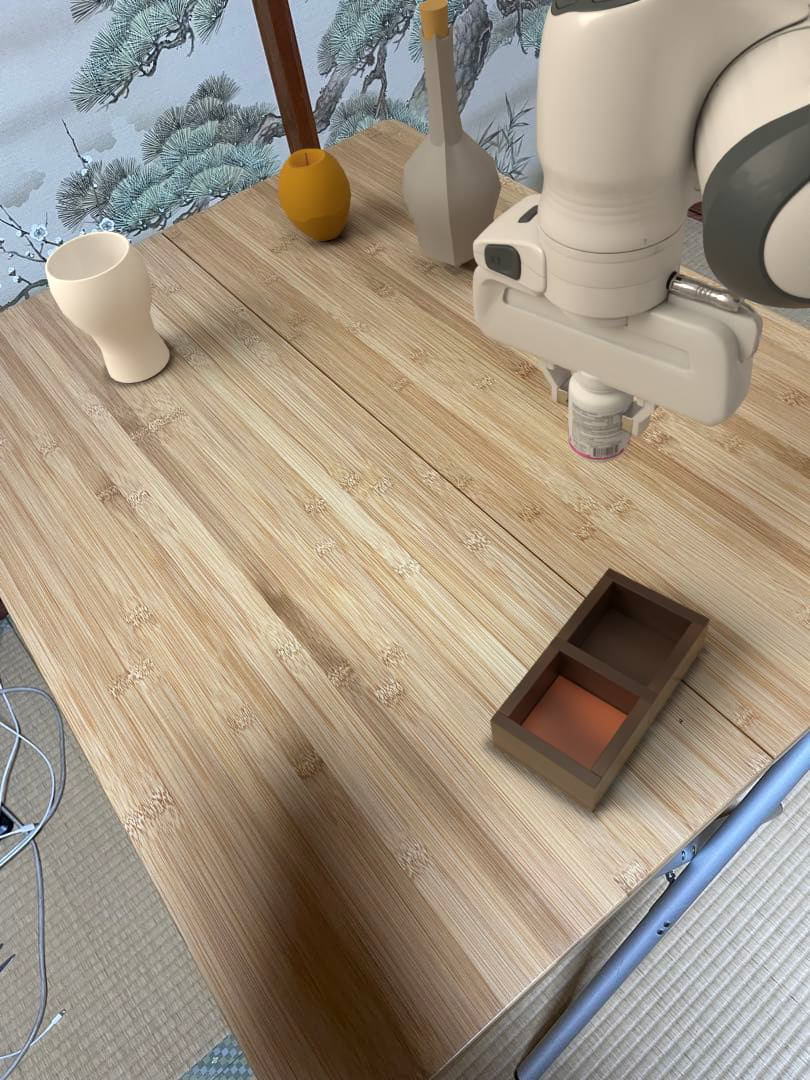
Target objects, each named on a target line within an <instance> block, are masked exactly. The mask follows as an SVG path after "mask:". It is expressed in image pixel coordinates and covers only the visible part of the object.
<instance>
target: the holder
mask: <svg viewBox="0 0 810 1080" xmlns="http://www.w3.org/2000/svg"><path fill="white" fill-rule="evenodd" d="M575 609H576V610H575V611H574V612H573V613H572V614H571V616H570V617H569V618H568V619H567V621H566V622H565V623H564V625H563V626H562V627H561V629H559V631H558V633H556V635H555V636H554V637H553V639H552V640H551V641H550V642H549V644H548V645H547V646H546V648H545V649H544V651H542V653H541V654H540V655H539V657H538V658H537V660H535V662H534V663H533V665H531V667H530V668H529V669H528V671H526V673H525V674H524V675H523V677H522V678H521V680H520V681H519V682H518V684H517V685H516V687H514V688H513V690H512V691H511V693H510V694H509V695H508V697H507V698H506V699H505V700H504V701H503V703H502V704H501V705H500V707H499V708H498V709H497V710H496V712H495V713H494V714H493V716H492V717H491V718H490V720H489V722H490V731H491V737H492V740H491V741H492V746H493V747H495V748H496V749H497V750H499V751H501V752H502V753H504V754H505V755H507V756H508V757H509V758H511V759H512V760H514V761H515V762H516V763H518V764H520V765H521V766H523V767H524V768H526V769H527V770H528V771H530V772H532V773H533V774H534V775H536V776H537V777H539V778H540V779H542V780H544V781H545V782H546V783H548V784H549V785H550V786H552V787H553V788H555V789H557V790H558V791H560V792H562V793H563V794H564V795H566V796H567V797H569V798H570V799H572V800H573V801H575V802H576V803H578V804H579V805H580V806H582V807H584V809H586V810H588V811H589V812H591V813H592V812H593V811H594V810H595V808H596V807H597V805H598V804H599V803H600V801H601V799H602V798H603V797H604V795H605V793H606V792H607V791H608V789H609V788H610V786H611V785H612V783H613V782H614V780H615V779H616V778H617V776H618V774H619V773H620V771H621V770H622V768H623V767H624V765H625V764H626V762H627V761H628V759H629V758H630V756H631V755H632V753H633V752H634V751H635V749H636V748H637V746H638V745H639V743H640V742H641V740H642V739H643V737H644V735H645V734H646V732H647V731H648V730H649V729H650V727H651V725H652V724H653V722H654V721H655V719H656V718H657V716H658V715H659V713H660V712H661V710H662V709H663V708H664V705H665V704H666V703H667V701H668V700H669V699H670V697H671V696H672V695H673V692H674V690H675V689H676V688H677V687H678V685H679V684H680V682H681V680H682V679H683V677H684V676H685V675H686V673H687V672H688V670H689V669H690V667H691V666H692V664H693V662H694V661H695V660H696V658H697V657H698V655H699V654H700V652H701V651H702V649H703V646H704V643H705V639H706V635H707V632H708V628H709V624H710V621H711V619H710V618H709V617H707V616H705V615H703V614H701V613H699V612H697V611H695V610H693V609H691V608H689V607H687V606H685V605H683V604H681V603H679V602H678V601H676V600H674V599H671V598H670V597H668V596H666V595H663V594H661V593H660V592H658V591H656V590H654V589H652V588H650V587H648V586H646V585H644V584H642V583H640V582H638V581H636V580H634V579H632V578H631V577H628V576H626V575H625V574H622V573H620V572H618V571H617V570H614V569H612V568H610V567H608V568H607V569H606V571H605V572H604V573H603V575H602V576H601V578H600V579H599V580H598V581H597V583H596V584H595V585H594V586H593V588H592V589H591V590H590V591H589V592H588V594H587V595H586V596H585V598H584V599H583V600H582V601H581V602H580V605H578V607H577V608H575Z"/></svg>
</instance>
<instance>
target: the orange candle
mask: <svg viewBox="0 0 810 1080" xmlns="http://www.w3.org/2000/svg"><path fill="white" fill-rule="evenodd" d="M277 194H278V200H279V203H280V206H281V209H282V210H283V211H284V214H285V215H286V217H287V218H288V220H289V221H290V222H291V223H292V224H293V226H295V227H296V228H297V229H298V230H299V231H300V232H301V233H303V234H304V235H305V236H306V237H308V238H309V239H311V240H313V241H315V242H325V241H326V242H327V241H331V240H334V239H336V238H338V237H339V236H340V235H341V234H342V232H343V230H344V229H345V227H346V224H347V222H348V218H349V214H350V210H351V202H352V191H351V185H350V182H349V179H348V176H347V173H346V172H345V170H344V168H343V167H342V166H341V164H340V162H339V161H338V160H337V159H336V157H334V155H332V154H331V153H330V152H329V151H327V150H324V149H321V148H303V149H299V150H296V151H294V152H292V153H291V154H290V155H289V156H288V157H287V159H286V160H285V162H283V164H282V166H281V168H280V171H279V176H278V181H277Z"/></svg>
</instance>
